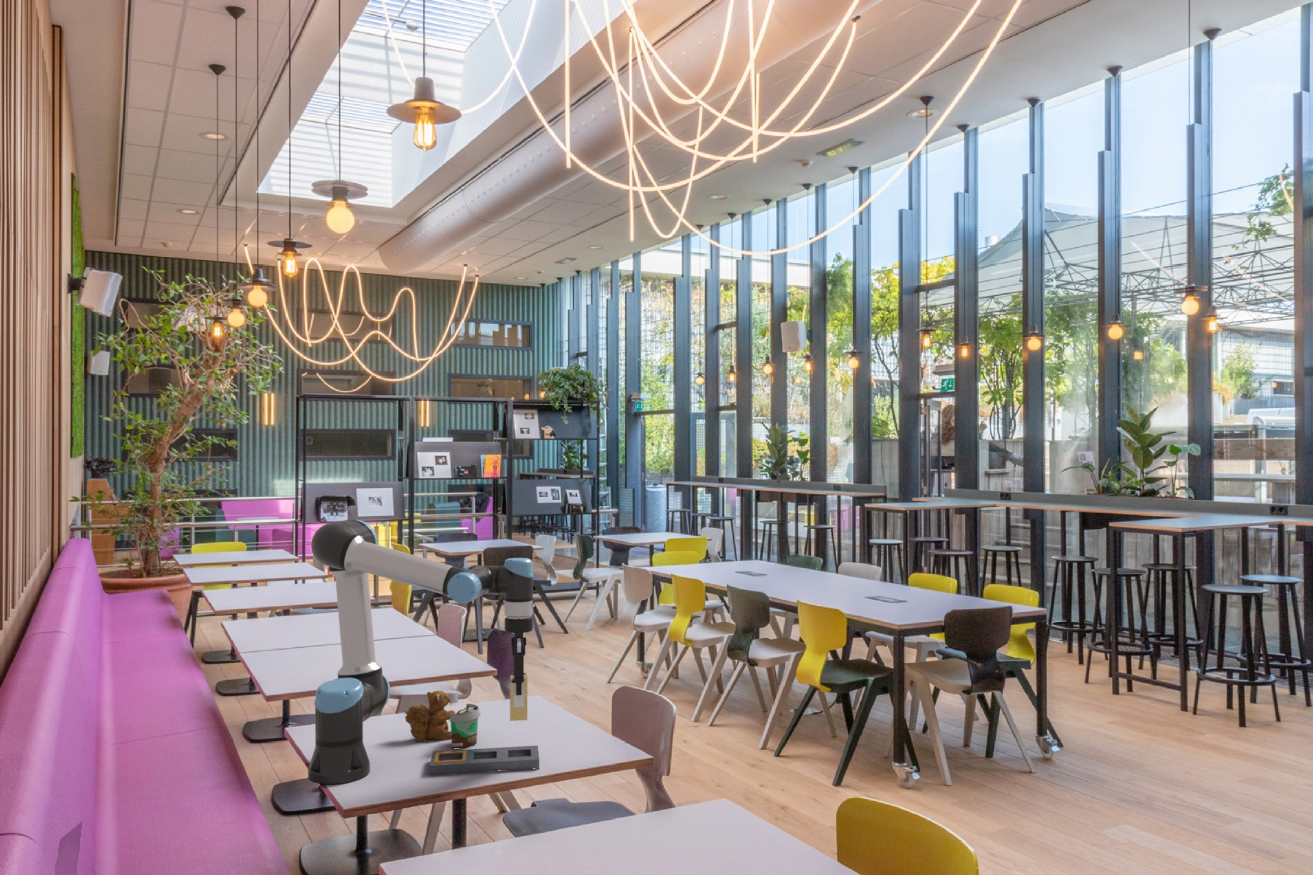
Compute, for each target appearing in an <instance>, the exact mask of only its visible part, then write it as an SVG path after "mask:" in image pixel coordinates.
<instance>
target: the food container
mask: <svg viewBox="0 0 1313 875" xmlns="http://www.w3.org/2000/svg"><path fill="white" fill-rule="evenodd" d="M465 706H466V707H464V708H463V709H460V710H458V711H457V712H455V714H451V715H450V719H449V722H450V731H451V736H452V739H451V750H455V749H454V748H463V749H467V748H468V747H469V748H471V747H470V746H472V747H474V746H476V745H477V743H478V742H477V741H478V740H477V739H478V726H479V725H478V724H479V718H480V716H481V715H482V714H481V710H480V708H479V705H477V704H473V703H466V705H465ZM475 744H476V745H475ZM469 748H468V749H469Z"/></svg>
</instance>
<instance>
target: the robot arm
mask: <svg viewBox="0 0 1313 875" xmlns="http://www.w3.org/2000/svg"><path fill="white" fill-rule="evenodd" d="M310 546H311V547H310V548H311V552H312V555H313V557H314V558H315V560H316V561H318V563H320V564H322V565H324V566H326V567H328V573H329V574H331V575H332V576H333V577H334V578H335V589H336V601H337V602H336V603H337V612H338V626H339V636H340V647H341V661H342V666H341V667H340V668H339V670H338V671H337V673H336V674H337V678H335V679H333V680H328V681H325V682H323V683H321V685H319V686H318V687H317V689H316V691H315V698H314V711H315V713H314V714H315V716H314V718H315V720H314V721H315V724H314V725H315V728H314V729H315V734H314V736H315V746H314V750H313V753H312V756H311V759H310V762H309V765H308V769H307V774H308V775H307V779H308V780H309V781H310V782H312V783H315V784H320V783H321V784H320V785H335V784H336V785H338V784H344V783H350V782H354V781H357V780H360V779H363V778H364V777H366V776H368V775H369V773H371V763H370V759H369V757H368V756H369V755H368V753H367V752H368V751H367V750H366V746H365V745H364V722H366V721H367V720H369V719H370V718H371V717H375V716H376V715H377V714H379V713H380V712H381V710H382V709H383V708H384V707H386V705H387V703H389V702H388V701H389V699H390V695H391V684H390V681H389V680H388V678H387V677H386V676H385V675H384V673H383V666H382V664H381V663H379V662H378V661H377V660H376V652H375V640H374V638H375V637H374V629H373V628H374V627H373V616H372V606H371V595H370V594H371V592H370V583H369V582H370V581H369V574H370V575H374V576H377V577H380V578H385V579H388V580H392V581H395V582H398V583H402V584H406V585H409V586H413V587H416V588H420V589H424V590H427V591H430V592H434V593H436V594H437V593H438V594H441V595H445V596H448V597H450V599H451V600H453V601H454V602H455V603H458V604H465V603H466V604H467V603H470V602H472V601H474V600H476V599H477V598H480V597H482V596H484V595H491V594H492V595H504V608H503V609H504V614H503V615H504V616H505V618H504V632H506V633H508V634H514V636H513V637H511V639H510V640H511V641H510V642H511V644H510V645H511V647H512V648H511V649H512V650H511V651H512V652H511V653H512V654H511V655H512V656H513V672H512V673H513V674H512V675H514V681H511V683H514V707H524V675H527V672H525V670H524V669H525V667H524V666H525V664H524V662H525V661H524V660H525V656H526V646H527V637H526V636H524V634H525V633H526V634H527V633H530V632H532V631H534V630H533V629H534V617H533V615H534V612H533V611H534V608H535V607H536V604H535V603H534V602H533V601H534V595H533V594H534V572H533V571H534V569H533V568H534V567H533V561H532V559H530V558H528V557H512V558H511V557H510V558H507V559H505V560H504V564H503V565H477V564H474V565H464V566H462V567H456V566H453V565H450V564H446V563H443V562H439V561H436V560H432V559H429V558H425V557H422V556H418V555H416V554H412V553H407V552H404V551H400V550H397V549H393V548H390V547H386V546H382V545H379V544H378V536H377V534H376V531H375V529H374V528H373V527H372V526H371V525H370V524H369V523H367V522H365V521H363V520H360V519H347V520H346V519H345V520H341V521H334V522H328V523H325V524H323V525H322V526H320V527H319V528H318V529H317V530H316V531H315V532H314V534H313V536H312V539H311V542H310ZM319 782H320V783H319Z"/></svg>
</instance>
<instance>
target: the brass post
mask: <svg viewBox="0 0 1313 875" xmlns="http://www.w3.org/2000/svg"><path fill="white" fill-rule="evenodd" d="M509 677H510V678H509V721H510V722H514V721H515V722H516V721H518V722H519V721H528V674H526V675H524V707H514V683H511V681H514V675H513V674H510V676H509Z"/></svg>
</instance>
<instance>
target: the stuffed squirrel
mask: <svg viewBox="0 0 1313 875" xmlns="http://www.w3.org/2000/svg"><path fill="white" fill-rule="evenodd" d="M426 695H427V698H428V704H429V705H428V706H429V707H426V706H425V705H424V704H418V705H412V706H410V707H409V708H408V709H407V710H406V711H404V714H405V715H406V716H405V717H404V719H405V722H406V723H408V724H409V725H410V733H411V736H412V738H414V739H415V740H416V741H419V742H425V741H428V740H432V739H433V741H446V740H445V739H447V740H452V736H451V730H450V731H449V724H448V722H447V721H450V715H451V714H456V711H454V710H453V709H451V710H447V709H445V707H447V705H449V703H450V706H452V703H453V702H452V700H451V699H450V696H449V695H448V693H446V692H444V691H443V690H434V691H432V692H431V691H427V693H426Z"/></svg>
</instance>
